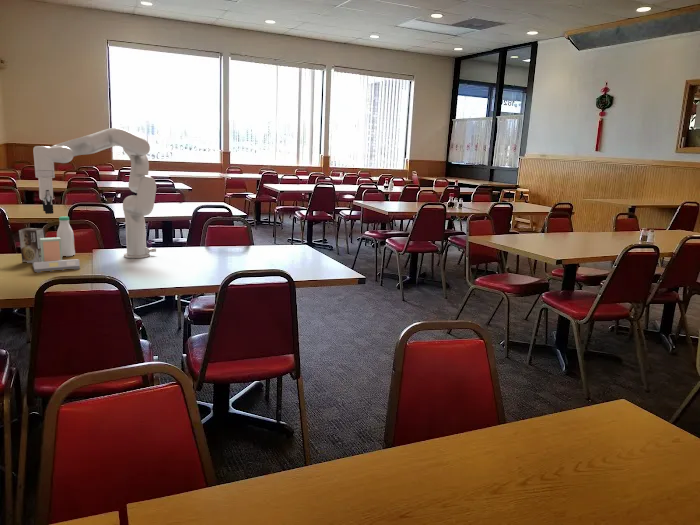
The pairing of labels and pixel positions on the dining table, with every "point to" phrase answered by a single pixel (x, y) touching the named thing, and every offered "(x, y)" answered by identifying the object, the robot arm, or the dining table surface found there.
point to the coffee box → (31, 244)
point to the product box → (51, 249)
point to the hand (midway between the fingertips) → (48, 212)
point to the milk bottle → (66, 237)
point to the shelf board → (56, 265)
